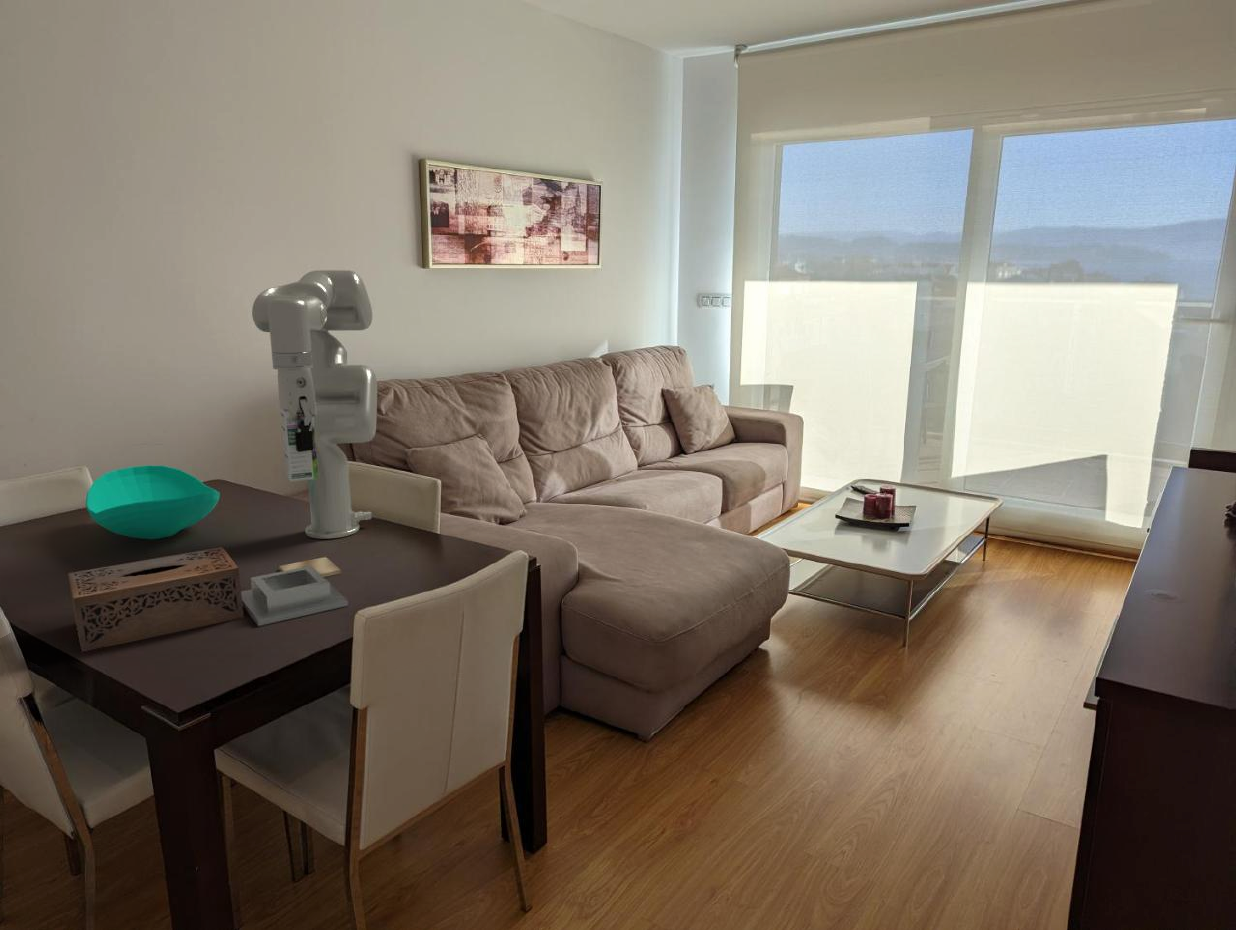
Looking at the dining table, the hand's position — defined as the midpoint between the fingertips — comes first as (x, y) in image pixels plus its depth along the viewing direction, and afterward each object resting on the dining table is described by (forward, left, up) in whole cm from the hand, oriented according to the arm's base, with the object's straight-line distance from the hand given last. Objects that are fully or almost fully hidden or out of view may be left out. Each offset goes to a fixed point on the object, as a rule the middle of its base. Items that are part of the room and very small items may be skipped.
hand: (299, 446), depth 176 cm
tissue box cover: (+30, +10, -28) cm, 42 cm away
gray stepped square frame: (+8, +15, -27) cm, 32 cm away
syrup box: (0, 0, -7) cm, 7 cm away
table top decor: (+22, -47, -28) cm, 59 cm away
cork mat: (0, 0, -27) cm, 27 cm away
